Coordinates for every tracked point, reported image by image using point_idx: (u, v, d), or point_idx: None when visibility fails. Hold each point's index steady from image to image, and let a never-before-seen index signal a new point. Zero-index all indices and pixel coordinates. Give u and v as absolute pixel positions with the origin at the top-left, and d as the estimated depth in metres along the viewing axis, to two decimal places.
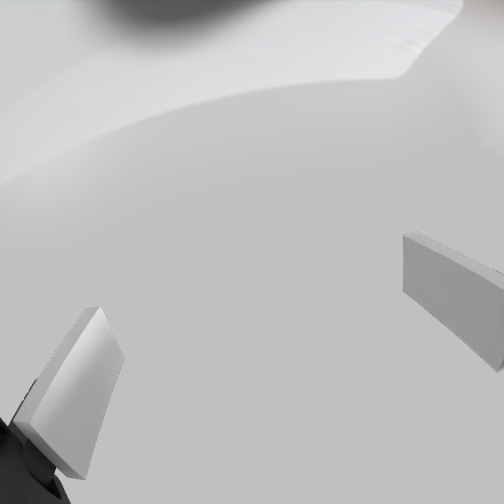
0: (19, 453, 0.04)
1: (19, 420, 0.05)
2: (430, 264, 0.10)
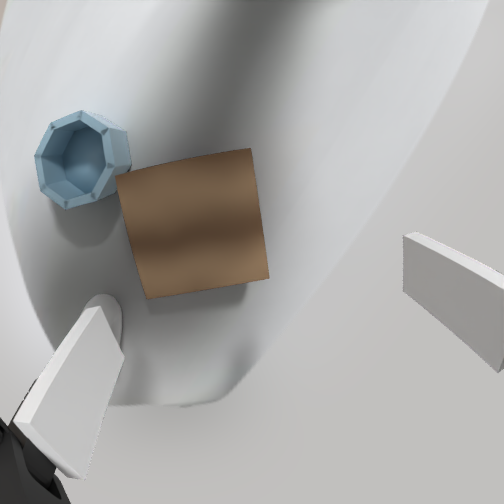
0: (19, 453, 0.04)
1: (19, 420, 0.05)
2: (430, 264, 0.10)
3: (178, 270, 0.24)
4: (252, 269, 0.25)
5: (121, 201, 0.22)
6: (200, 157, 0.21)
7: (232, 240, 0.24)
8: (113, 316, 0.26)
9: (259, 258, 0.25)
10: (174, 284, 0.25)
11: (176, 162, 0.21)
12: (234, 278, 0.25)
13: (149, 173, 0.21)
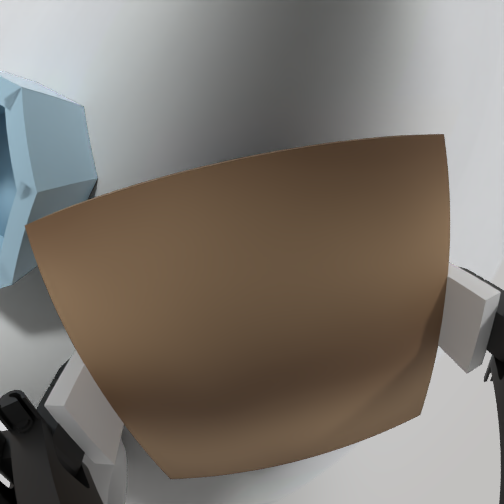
0: (49, 440, 0.05)
1: (51, 404, 0.05)
2: None
3: (241, 445, 0.09)
4: (397, 413, 0.09)
5: (56, 303, 0.06)
6: (313, 150, 0.06)
7: (375, 376, 0.08)
8: (109, 474, 0.11)
9: (416, 391, 0.09)
10: (229, 463, 0.09)
11: (226, 167, 0.06)
12: (361, 434, 0.09)
13: (128, 212, 0.06)
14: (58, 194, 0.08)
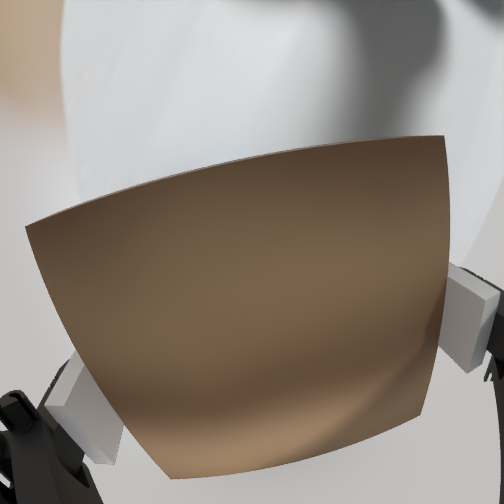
0: (49, 441, 0.05)
1: (51, 404, 0.05)
2: None
3: (241, 445, 0.09)
4: (397, 413, 0.09)
5: (57, 304, 0.06)
6: (314, 152, 0.06)
7: (375, 377, 0.08)
8: None
9: (416, 392, 0.09)
10: (230, 463, 0.09)
11: (226, 169, 0.06)
12: (361, 434, 0.09)
13: (129, 213, 0.06)
14: None
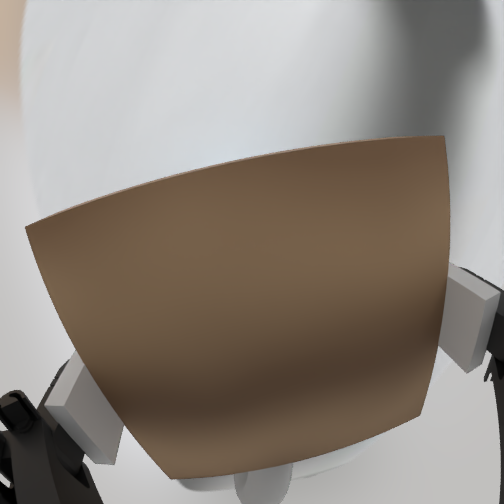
0: (50, 440, 0.05)
1: (51, 404, 0.05)
2: None
3: (241, 445, 0.09)
4: (397, 413, 0.09)
5: (57, 305, 0.06)
6: (314, 152, 0.06)
7: (375, 377, 0.08)
8: None
9: (416, 392, 0.09)
10: (230, 463, 0.09)
11: (226, 169, 0.06)
12: (361, 434, 0.09)
13: (128, 214, 0.06)
14: None
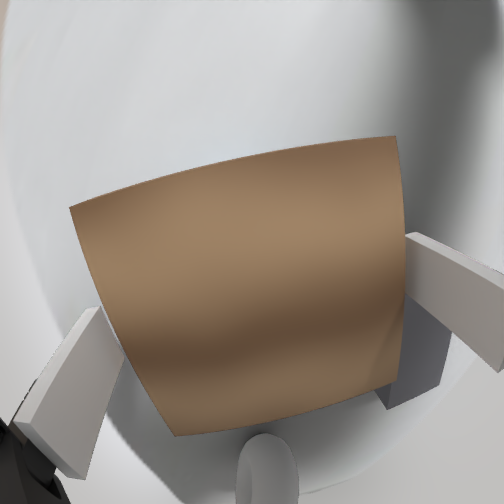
0: (19, 453, 0.04)
1: (19, 420, 0.05)
2: (430, 264, 0.10)
3: (236, 396, 0.11)
4: (373, 375, 0.12)
5: (91, 268, 0.09)
6: (287, 152, 0.08)
7: (348, 335, 0.11)
8: None
9: (389, 355, 0.11)
10: (227, 417, 0.11)
11: (225, 165, 0.08)
12: (341, 393, 0.12)
13: (154, 196, 0.08)
14: None
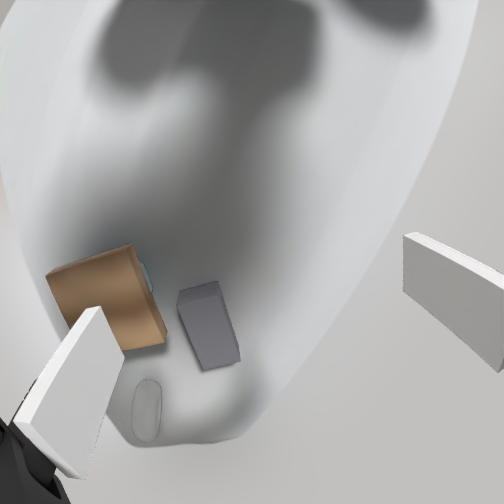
0: (19, 453, 0.04)
1: (19, 420, 0.05)
2: (430, 264, 0.10)
3: None
4: (149, 337, 0.30)
5: (53, 293, 0.27)
6: (94, 260, 0.27)
7: (129, 317, 0.29)
8: (157, 397, 0.35)
9: (152, 328, 0.30)
10: None
11: (79, 265, 0.27)
12: (138, 343, 0.30)
13: (65, 273, 0.27)
14: None
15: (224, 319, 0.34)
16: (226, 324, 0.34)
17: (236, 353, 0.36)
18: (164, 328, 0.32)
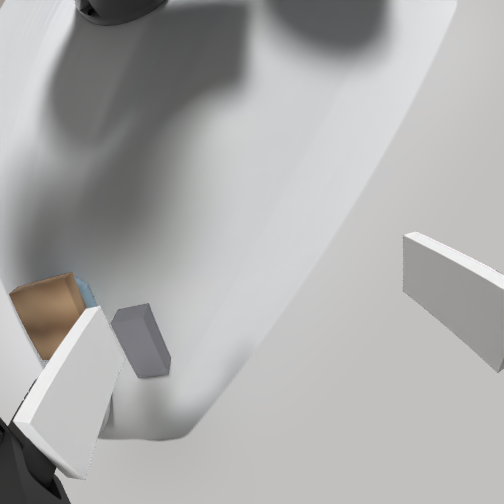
0: (19, 453, 0.04)
1: (19, 420, 0.05)
2: (430, 264, 0.10)
3: (51, 346, 0.32)
4: None
5: None
6: (42, 285, 0.29)
7: None
8: None
9: None
10: (52, 353, 0.32)
11: (32, 288, 0.29)
12: None
13: (23, 294, 0.29)
14: None
15: (150, 338, 0.37)
16: (152, 342, 0.37)
17: (163, 367, 0.39)
18: None
